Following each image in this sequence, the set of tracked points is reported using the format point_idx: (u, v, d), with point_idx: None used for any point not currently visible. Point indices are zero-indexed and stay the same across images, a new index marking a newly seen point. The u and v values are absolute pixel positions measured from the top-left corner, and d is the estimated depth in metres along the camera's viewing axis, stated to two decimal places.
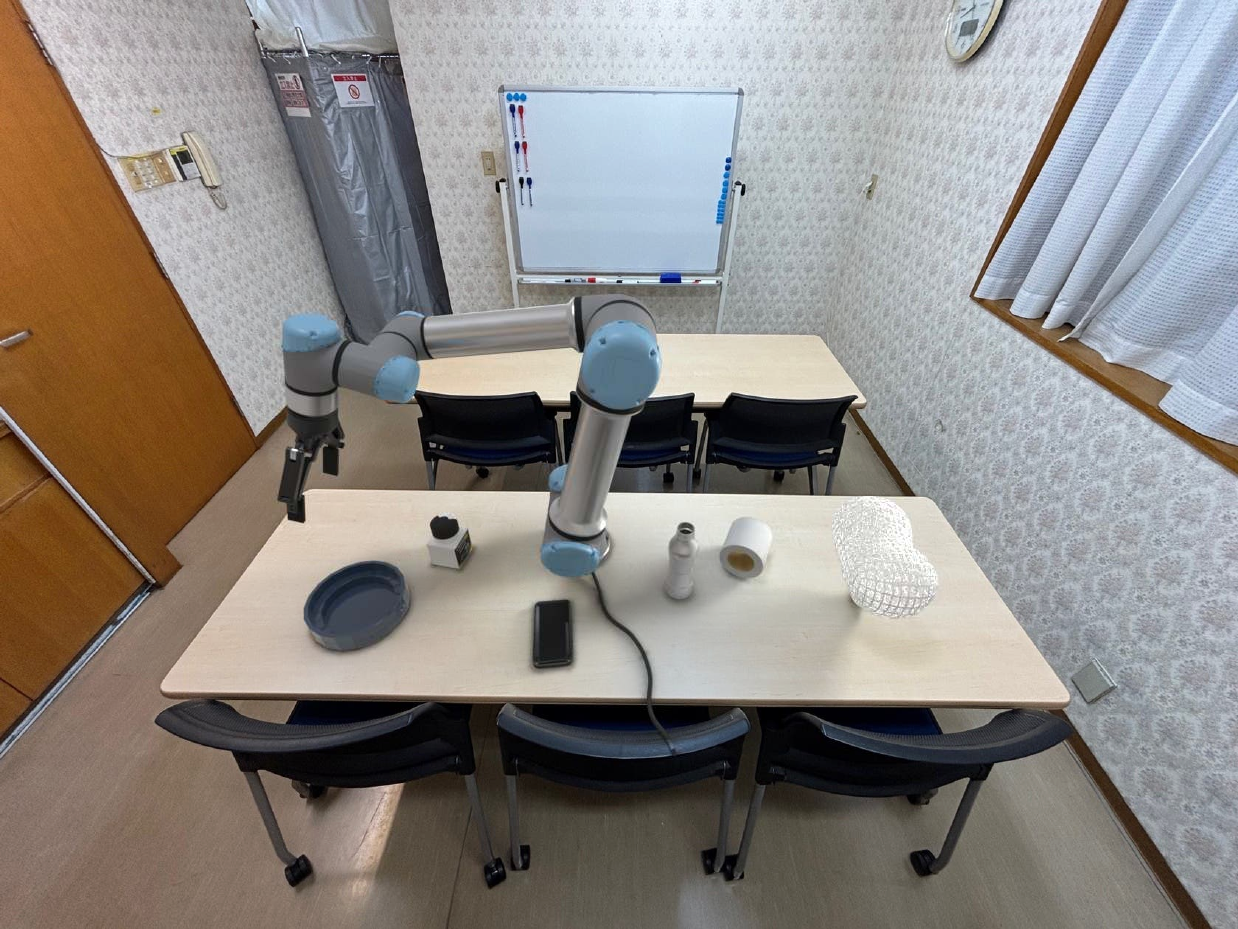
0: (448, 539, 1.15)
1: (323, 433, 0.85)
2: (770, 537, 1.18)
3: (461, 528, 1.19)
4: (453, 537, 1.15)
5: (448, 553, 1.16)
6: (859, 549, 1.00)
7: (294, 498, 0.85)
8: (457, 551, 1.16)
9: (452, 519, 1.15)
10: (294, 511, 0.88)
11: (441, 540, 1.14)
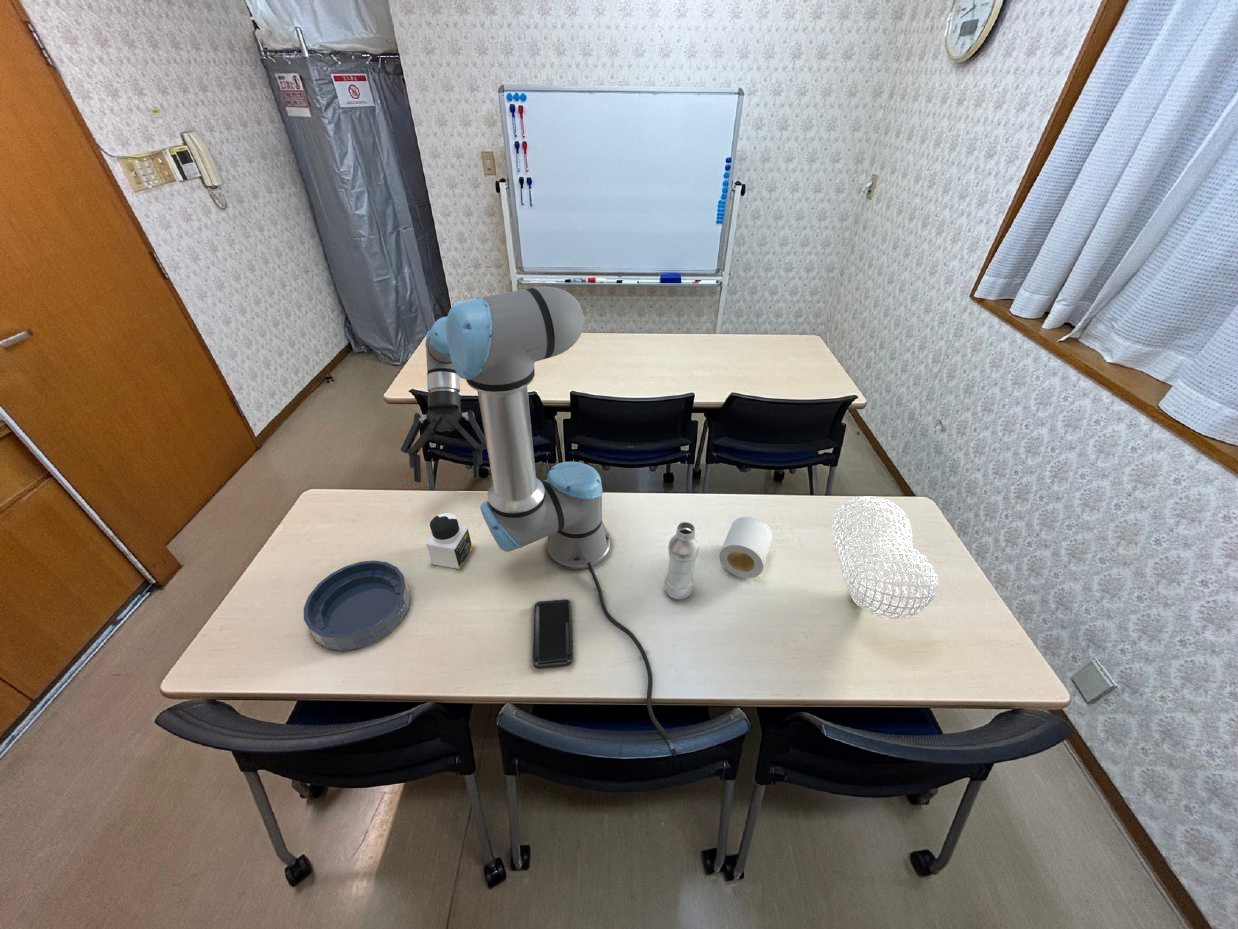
0: (448, 539, 1.15)
1: (430, 404, 1.20)
2: (770, 537, 1.18)
3: (461, 528, 1.19)
4: (453, 537, 1.15)
5: (448, 553, 1.16)
6: (859, 549, 1.00)
7: (403, 446, 1.20)
8: (457, 551, 1.16)
9: (452, 519, 1.15)
10: (410, 465, 1.20)
11: (441, 540, 1.14)
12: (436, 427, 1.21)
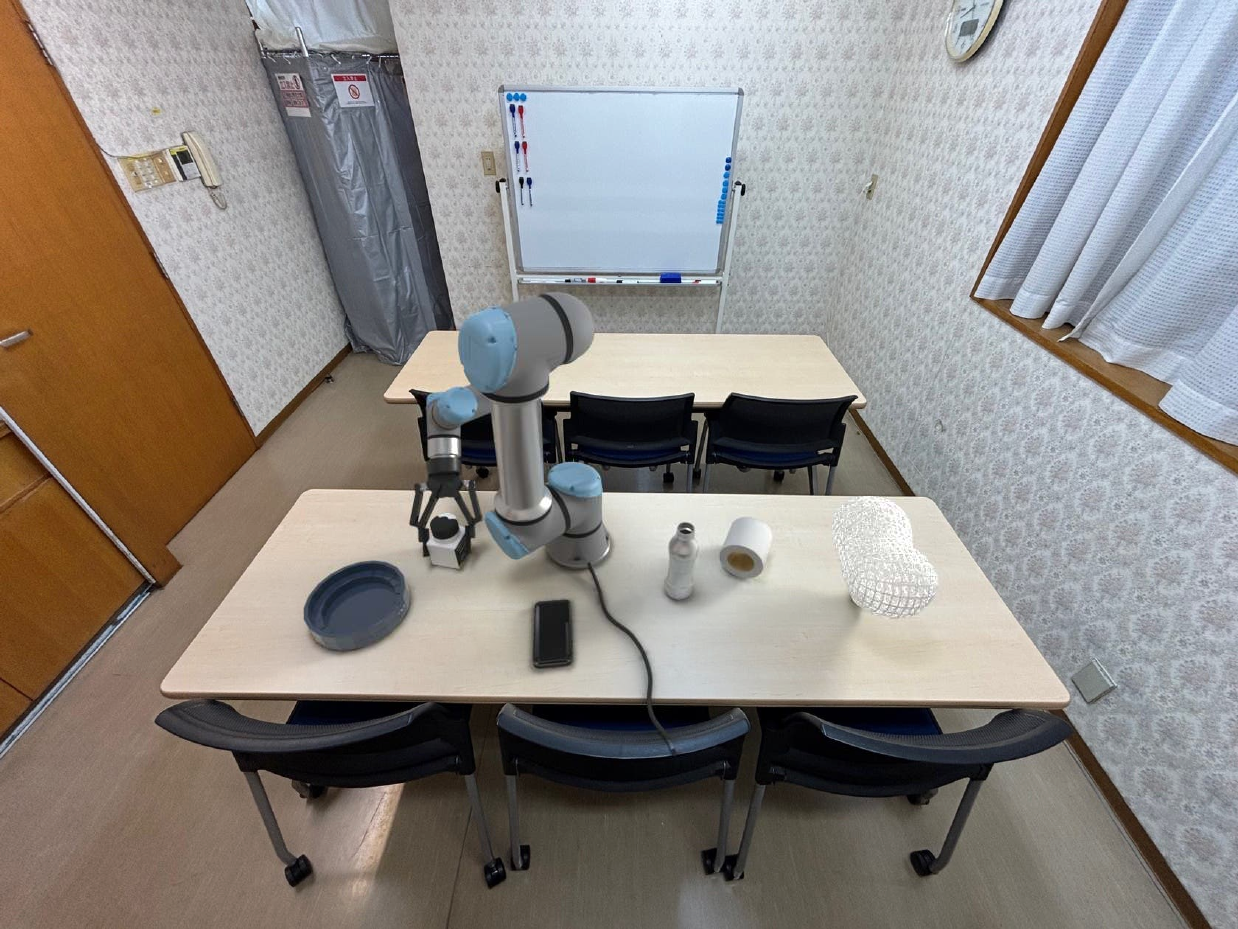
0: (448, 539, 1.15)
1: (431, 471, 1.16)
2: (770, 537, 1.18)
3: (461, 528, 1.19)
4: (453, 537, 1.15)
5: (448, 553, 1.16)
6: (859, 549, 1.00)
7: (411, 520, 1.16)
8: (457, 551, 1.16)
9: (452, 519, 1.15)
10: None
11: (441, 540, 1.14)
12: (436, 494, 1.17)
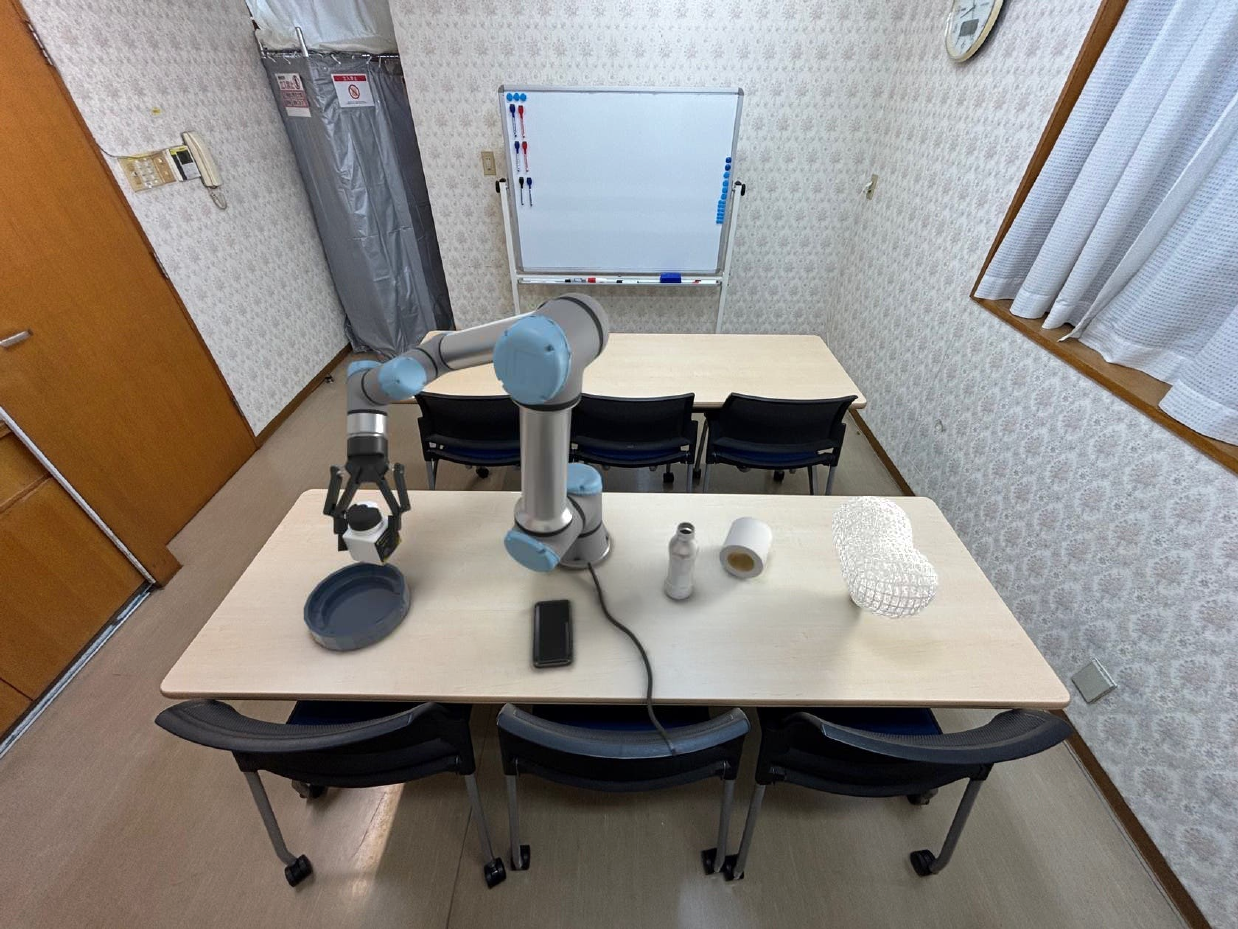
0: (367, 531, 0.99)
1: (349, 452, 1.00)
2: (770, 537, 1.18)
3: (385, 518, 1.03)
4: (373, 528, 0.99)
5: (367, 547, 1.00)
6: (859, 549, 1.00)
7: (325, 508, 1.00)
8: (377, 545, 1.00)
9: (371, 508, 0.99)
10: (334, 531, 1.00)
11: (358, 532, 0.98)
12: (356, 479, 1.01)
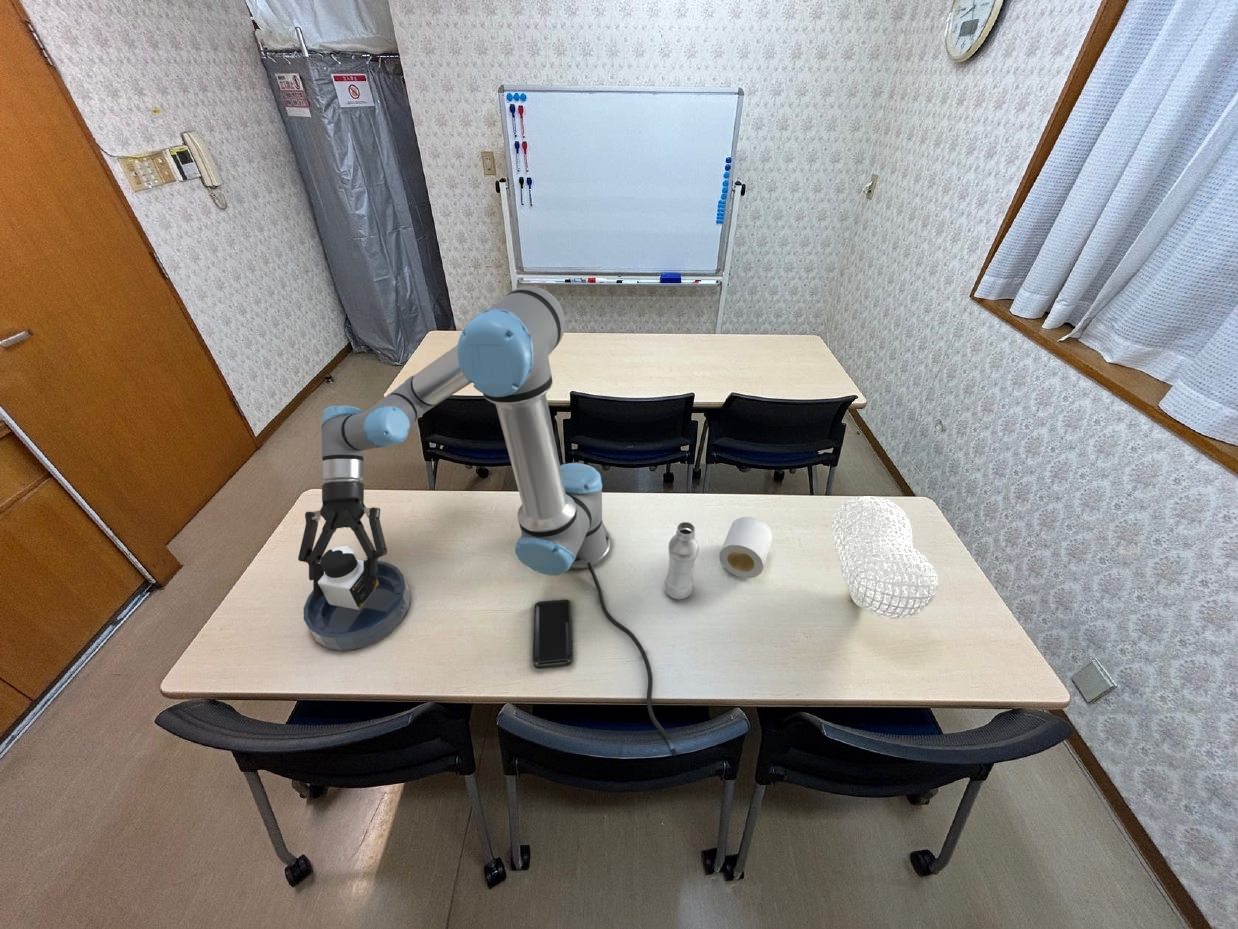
0: (342, 577, 0.99)
1: (324, 498, 1.00)
2: (770, 537, 1.18)
3: (362, 563, 1.03)
4: (348, 574, 0.99)
5: (342, 592, 1.00)
6: (859, 549, 1.00)
7: (300, 554, 1.00)
8: (353, 591, 1.00)
9: (347, 554, 0.99)
10: None
11: (333, 578, 0.98)
12: (331, 524, 1.02)
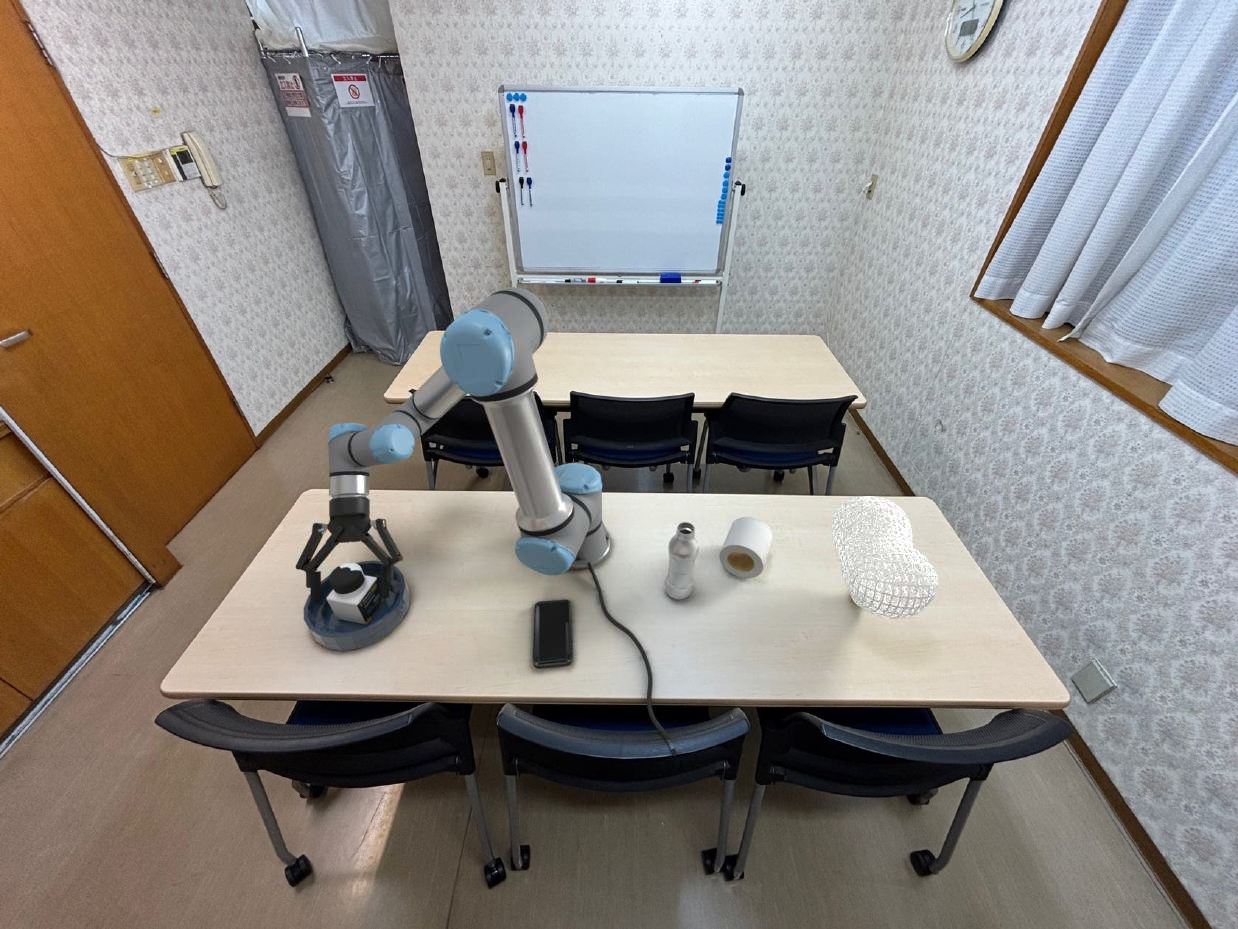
0: (350, 593, 1.02)
1: (331, 514, 1.03)
2: (770, 537, 1.18)
3: (369, 579, 1.06)
4: (356, 591, 1.02)
5: (350, 608, 1.03)
6: (859, 549, 1.00)
7: (298, 563, 1.03)
8: (361, 607, 1.03)
9: (354, 571, 1.02)
10: None
11: (342, 595, 1.02)
12: (338, 539, 1.04)
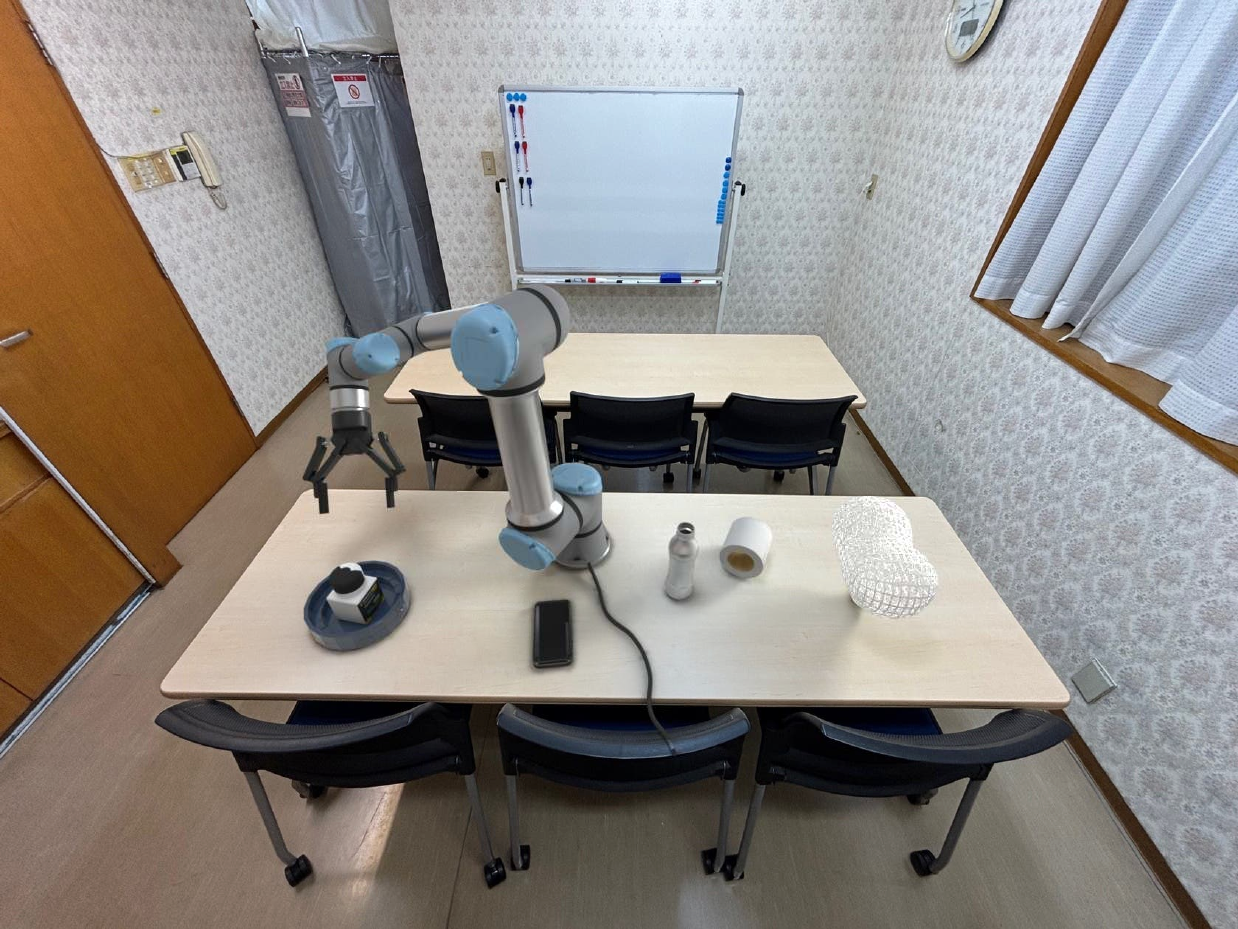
0: (350, 593, 1.02)
1: (334, 426, 1.06)
2: (770, 537, 1.18)
3: (369, 579, 1.06)
4: (356, 591, 1.02)
5: (350, 608, 1.03)
6: (859, 549, 1.00)
7: (305, 474, 1.06)
8: (361, 607, 1.03)
9: (354, 571, 1.02)
10: None
11: (342, 595, 1.02)
12: (342, 452, 1.07)
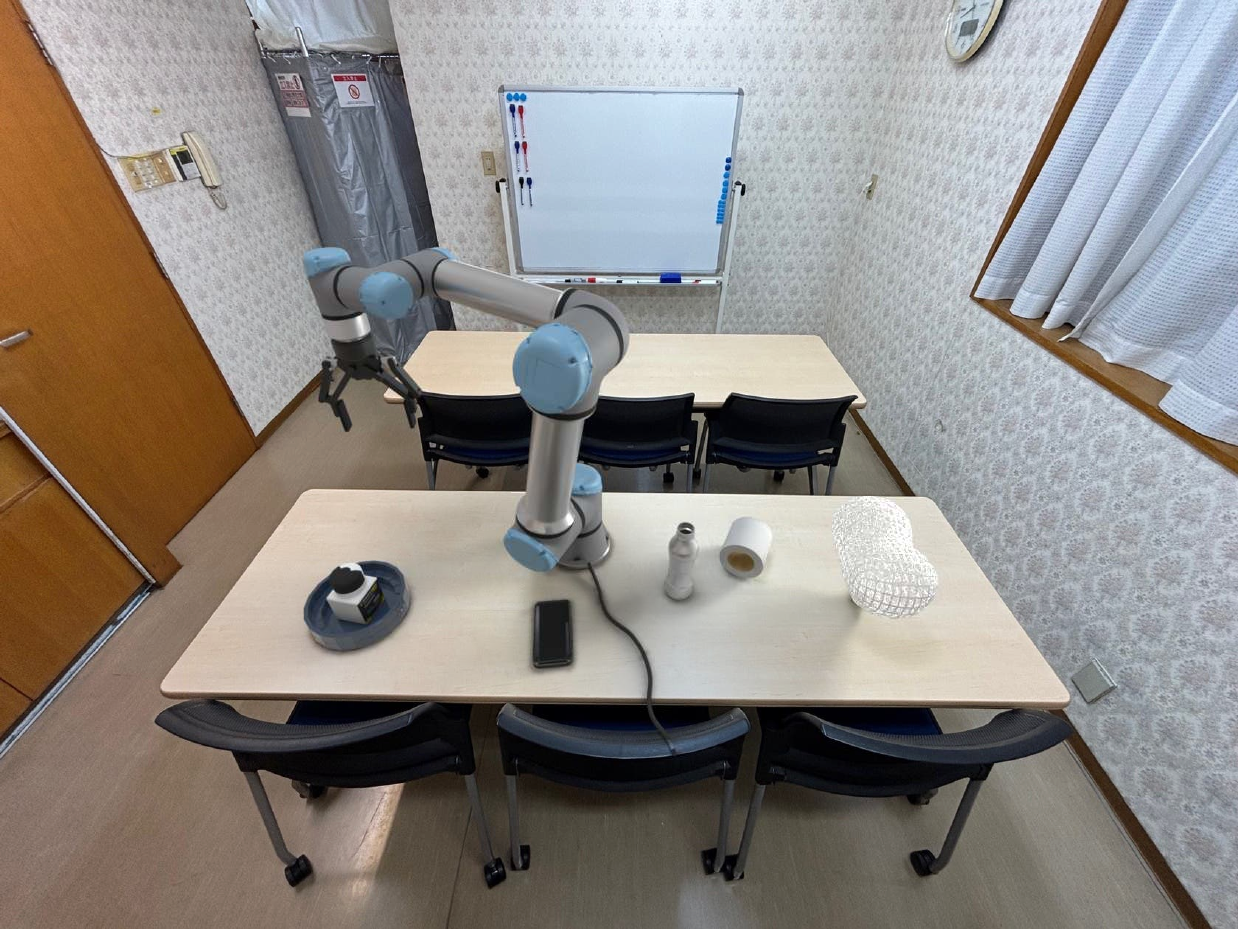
0: (350, 593, 1.02)
1: (338, 357, 0.97)
2: (770, 537, 1.18)
3: (369, 579, 1.06)
4: (356, 591, 1.02)
5: (350, 608, 1.03)
6: (859, 549, 1.00)
7: (320, 397, 1.04)
8: (361, 607, 1.03)
9: (354, 571, 1.02)
10: (334, 414, 1.07)
11: (342, 595, 1.02)
12: (353, 377, 1.02)
